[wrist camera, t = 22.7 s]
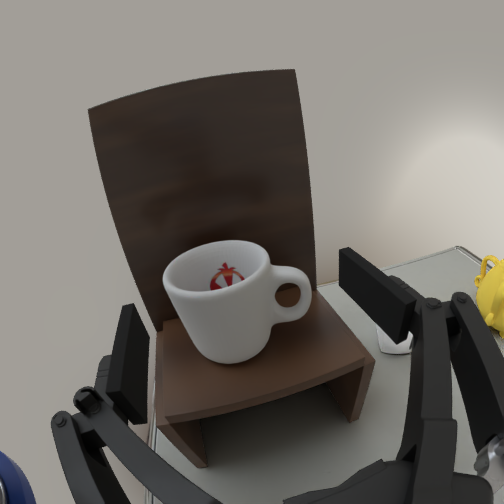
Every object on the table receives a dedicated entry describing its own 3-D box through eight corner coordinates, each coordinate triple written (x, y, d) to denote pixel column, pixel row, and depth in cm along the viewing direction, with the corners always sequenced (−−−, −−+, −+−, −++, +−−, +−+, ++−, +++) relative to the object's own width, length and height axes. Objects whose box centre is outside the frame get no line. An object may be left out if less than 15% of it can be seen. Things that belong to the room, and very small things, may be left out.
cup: (307, 307, 26) (303, 230, 22) (317, 370, 19) (317, 284, 15) (200, 315, 27) (179, 245, 24) (181, 375, 20) (145, 297, 17)
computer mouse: (405, 298, 41) (411, 267, 38) (421, 355, 30) (433, 321, 27) (370, 300, 43) (373, 268, 40) (378, 358, 32) (386, 324, 29)
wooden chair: (358, 418, 24) (379, 33, 10) (197, 468, 22) (12, 92, 7) (313, 347, 36) (290, 71, 21) (185, 382, 33) (91, 110, 18)
